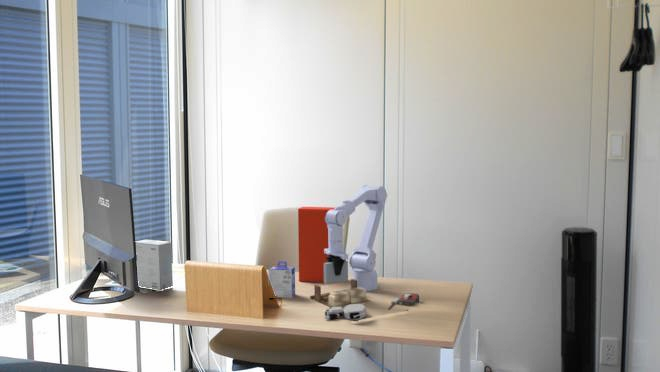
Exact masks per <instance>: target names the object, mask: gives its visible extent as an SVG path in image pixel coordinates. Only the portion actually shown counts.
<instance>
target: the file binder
mask: <svg viewBox="0 0 660 372" xmlns="http://www.w3.org/2000/svg"><path fill="white" fill-rule="evenodd" d="M335 208H336V207H327V206H325V207H323V206H302V207H300V208H298V209H297V218H298V220H297V224H298V225H297V226H298V229H297V230H298V237H297V238H298V281H299V282H307V283H308V282H309V283H310V282H311V283H324V263H328V261H327V259H326V256H329V255H328V254H324V249H326V248H329V243H328V227H327V223H326V221H325V217H326V213H327V212H328V211H329V210H334V209H335ZM337 283H339V282H337ZM337 283H336V284H337Z"/></svg>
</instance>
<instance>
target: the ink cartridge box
mask: <svg viewBox="0 0 660 372" xmlns="http://www.w3.org/2000/svg"><path fill="white" fill-rule="evenodd" d="M287 263H288V261H281V260H280V261H278V262H277V266H271V267H270V268H268V281H269V280H270V283H271V285H272V287H273V290H274V292H275V295H276V296H277V297H276V298H288V299H292V298H294V297H295V296H296V268H295V267H293V266H291V267H290V266H287V265H288V264H287Z"/></svg>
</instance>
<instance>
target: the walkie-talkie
mask: <svg viewBox="0 0 660 372" xmlns="http://www.w3.org/2000/svg"><path fill="white" fill-rule="evenodd" d="M419 302H420V295H419V294H418V293H413V292H405V293H403V294H402V295H401V296H399V297H396V298H393V299H392V300H391V302H390V303H391V304H390V306H389V307H388V308H387V310H391V309H392V308H393V307H394V306H395V305H398V306H399V305H401V306H406V307H413V306H415V305H416V304H418V303H419Z"/></svg>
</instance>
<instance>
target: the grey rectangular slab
mask: <svg viewBox="0 0 660 372" xmlns="http://www.w3.org/2000/svg"><path fill="white" fill-rule="evenodd" d="M348 281H349V260H348V259H347V260H345V262H344V264H343V267H342V271H341V275H338V276H336V275H335V272H334V264H333V262H328V263H324V282H323V284H324V285H330V284H337V282H338V283H342V282H348Z"/></svg>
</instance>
